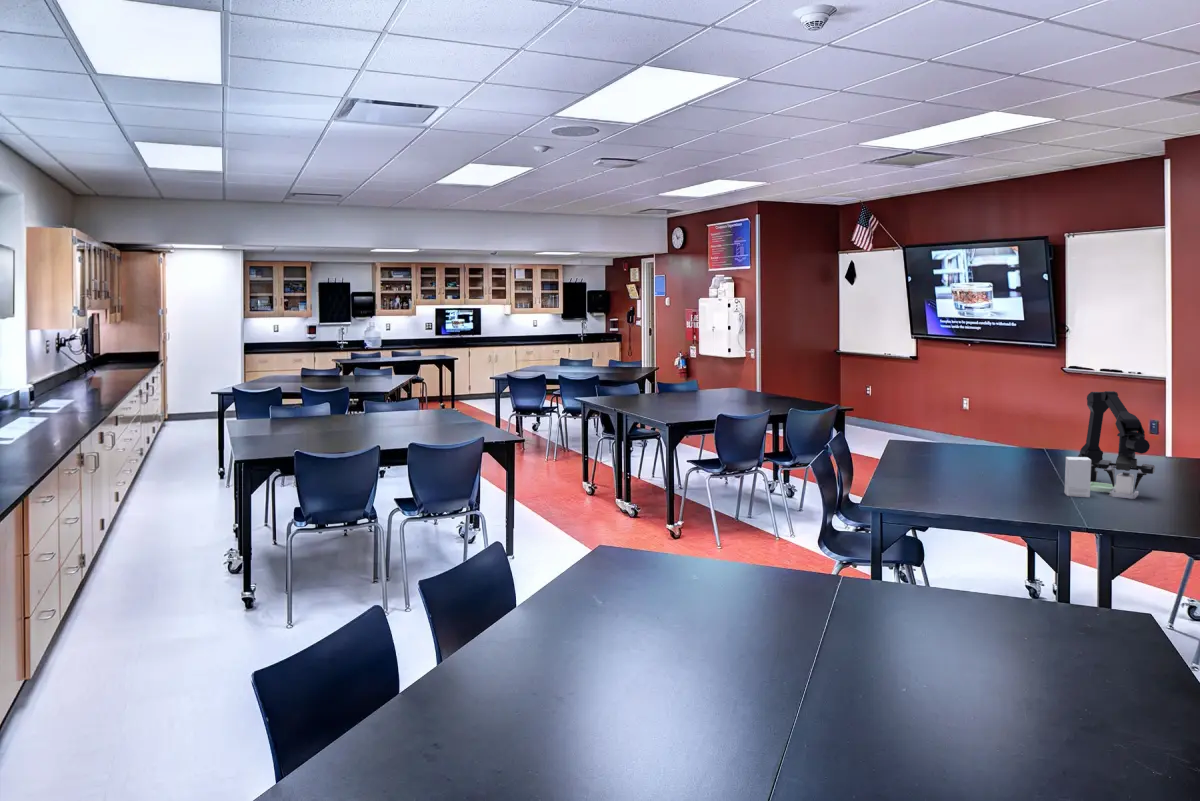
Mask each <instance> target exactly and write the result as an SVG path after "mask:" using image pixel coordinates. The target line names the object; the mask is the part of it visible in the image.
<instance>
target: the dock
mask: <svg viewBox="0 0 1200 801" xmlns="http://www.w3.org/2000/svg"><path fill="white" fill-rule="evenodd" d="M1115 491H1116V489H1113V490H1112V491H1110V492H1109V494H1108V496H1109V497H1114V498H1121V499H1122V498H1124V499H1130V500H1135V499H1136V498H1137V497H1138V496H1139V490H1135V491H1133V494H1132V495H1131V494H1122V493H1115Z"/></svg>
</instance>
